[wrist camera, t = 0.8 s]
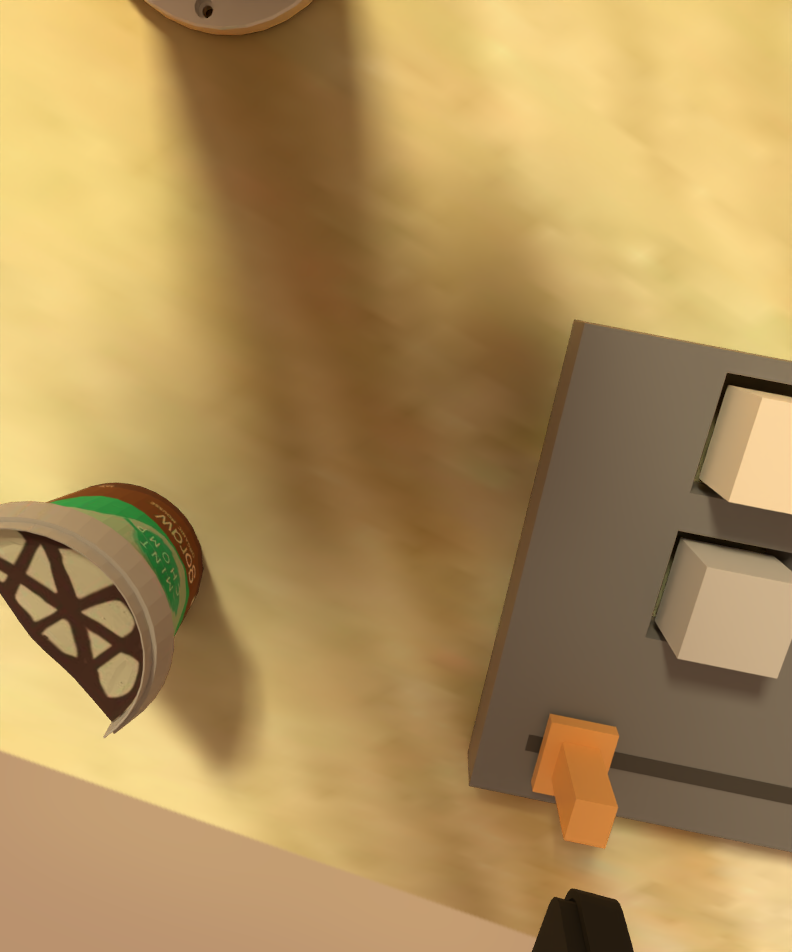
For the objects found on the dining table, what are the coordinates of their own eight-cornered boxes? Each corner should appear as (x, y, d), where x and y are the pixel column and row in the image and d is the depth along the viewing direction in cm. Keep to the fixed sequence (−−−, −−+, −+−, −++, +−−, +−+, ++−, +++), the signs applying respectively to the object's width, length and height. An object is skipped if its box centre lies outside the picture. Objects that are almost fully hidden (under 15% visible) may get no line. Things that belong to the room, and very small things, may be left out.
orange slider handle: (549, 713, 39) (564, 777, 34) (615, 727, 39) (640, 793, 34) (530, 781, 40) (542, 853, 35) (595, 794, 40) (616, 868, 35)
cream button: (727, 384, 35) (762, 397, 31) (826, 403, 35) (873, 418, 31) (698, 478, 36) (728, 501, 32) (793, 496, 36) (834, 522, 32)
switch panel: (574, 319, 37) (585, 322, 34) (968, 394, 36) (1013, 405, 33) (467, 752, 44) (469, 786, 41) (796, 819, 43) (822, 858, 40)
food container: (267, 590, 42) (213, 683, 32) (187, 642, 43) (111, 747, 33) (131, 416, 40) (29, 460, 30) (51, 477, 41) (-72, 537, 31)
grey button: (680, 537, 37) (707, 567, 33) (773, 555, 37) (810, 587, 33) (654, 620, 38) (677, 658, 34) (744, 638, 38) (777, 678, 34)
